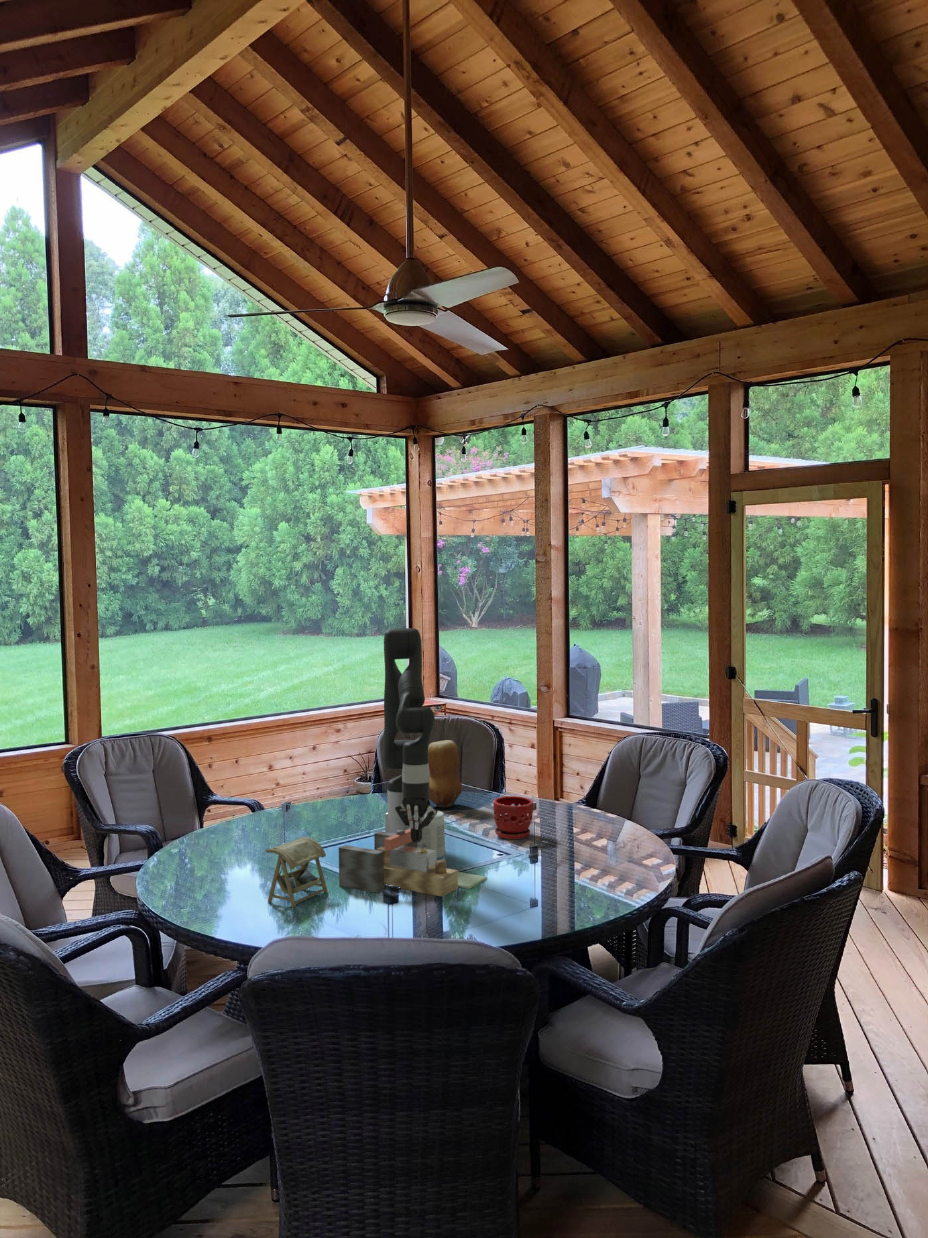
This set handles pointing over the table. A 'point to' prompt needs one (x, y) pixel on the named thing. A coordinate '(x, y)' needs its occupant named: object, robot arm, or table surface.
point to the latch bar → (398, 839)
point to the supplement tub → (434, 836)
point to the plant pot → (513, 816)
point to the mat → (469, 880)
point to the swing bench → (301, 878)
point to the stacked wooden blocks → (390, 871)
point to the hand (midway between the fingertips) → (416, 841)
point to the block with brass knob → (413, 859)
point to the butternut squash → (444, 773)
